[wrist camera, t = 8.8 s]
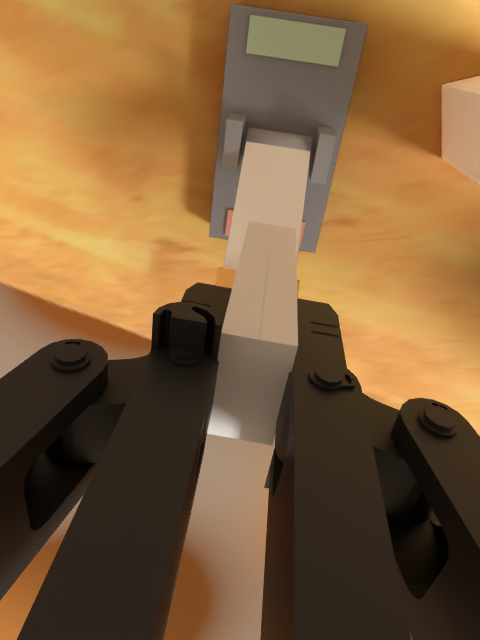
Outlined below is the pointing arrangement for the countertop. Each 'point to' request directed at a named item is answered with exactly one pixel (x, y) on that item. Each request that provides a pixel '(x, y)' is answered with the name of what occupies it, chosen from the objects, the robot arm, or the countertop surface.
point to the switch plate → (285, 100)
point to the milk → (462, 126)
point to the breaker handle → (267, 190)
